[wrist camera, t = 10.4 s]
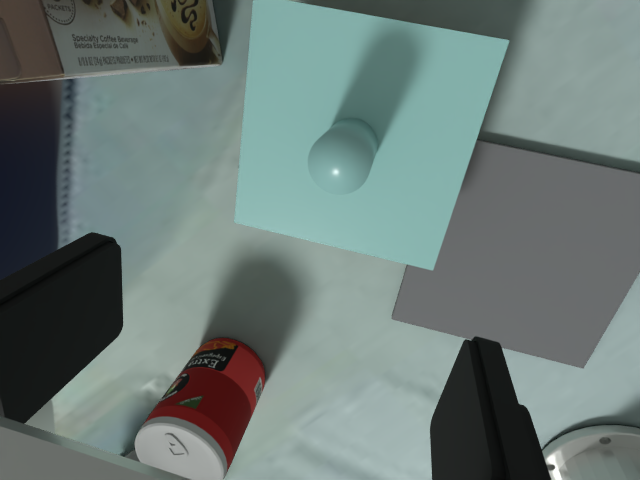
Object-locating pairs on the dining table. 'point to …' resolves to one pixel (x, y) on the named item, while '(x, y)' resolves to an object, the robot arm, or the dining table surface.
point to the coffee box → (104, 38)
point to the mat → (531, 255)
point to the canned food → (204, 412)
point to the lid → (359, 127)
